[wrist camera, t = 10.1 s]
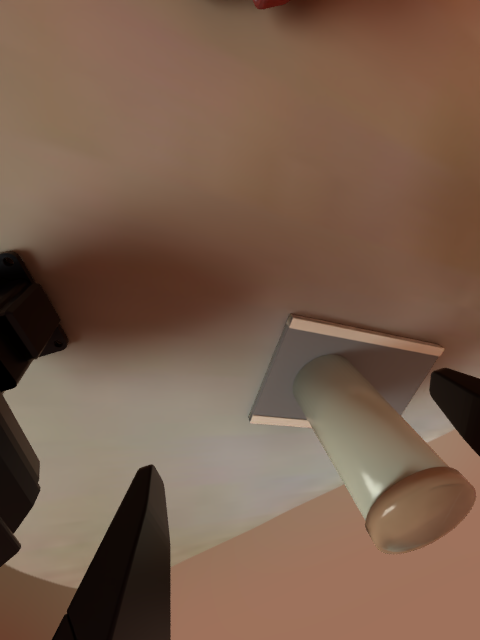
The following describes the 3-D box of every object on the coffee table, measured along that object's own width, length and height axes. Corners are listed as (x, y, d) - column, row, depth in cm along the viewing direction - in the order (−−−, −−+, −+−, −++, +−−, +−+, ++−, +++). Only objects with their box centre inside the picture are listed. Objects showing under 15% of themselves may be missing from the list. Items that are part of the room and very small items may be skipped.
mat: (248, 417, 27) (250, 423, 26) (289, 314, 23) (293, 318, 23) (385, 428, 32) (389, 433, 31) (438, 344, 28) (445, 348, 27)
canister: (280, 406, 26) (355, 557, 16) (307, 347, 24) (412, 479, 14) (337, 412, 28) (435, 550, 18) (366, 358, 26) (496, 481, 16)
